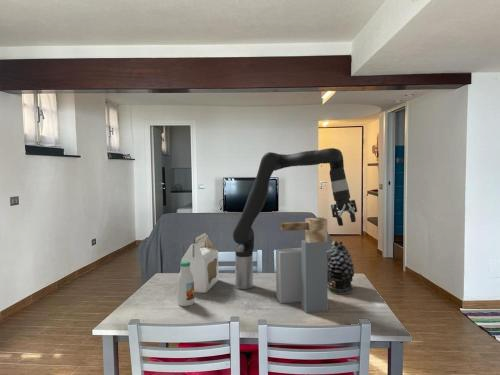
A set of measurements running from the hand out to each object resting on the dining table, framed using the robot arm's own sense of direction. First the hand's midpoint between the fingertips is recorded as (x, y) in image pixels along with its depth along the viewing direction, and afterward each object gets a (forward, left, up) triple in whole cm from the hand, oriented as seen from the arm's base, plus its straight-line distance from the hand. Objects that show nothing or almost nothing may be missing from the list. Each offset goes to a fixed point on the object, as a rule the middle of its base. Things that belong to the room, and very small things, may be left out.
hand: (347, 223), depth 162 cm
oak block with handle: (-23, -5, -6) cm, 25 cm away
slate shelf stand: (-22, +2, -37) cm, 43 cm away
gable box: (-67, +39, -38) cm, 86 cm away
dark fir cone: (+4, +18, -37) cm, 42 cm away
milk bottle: (-75, +14, -37) cm, 85 cm away
